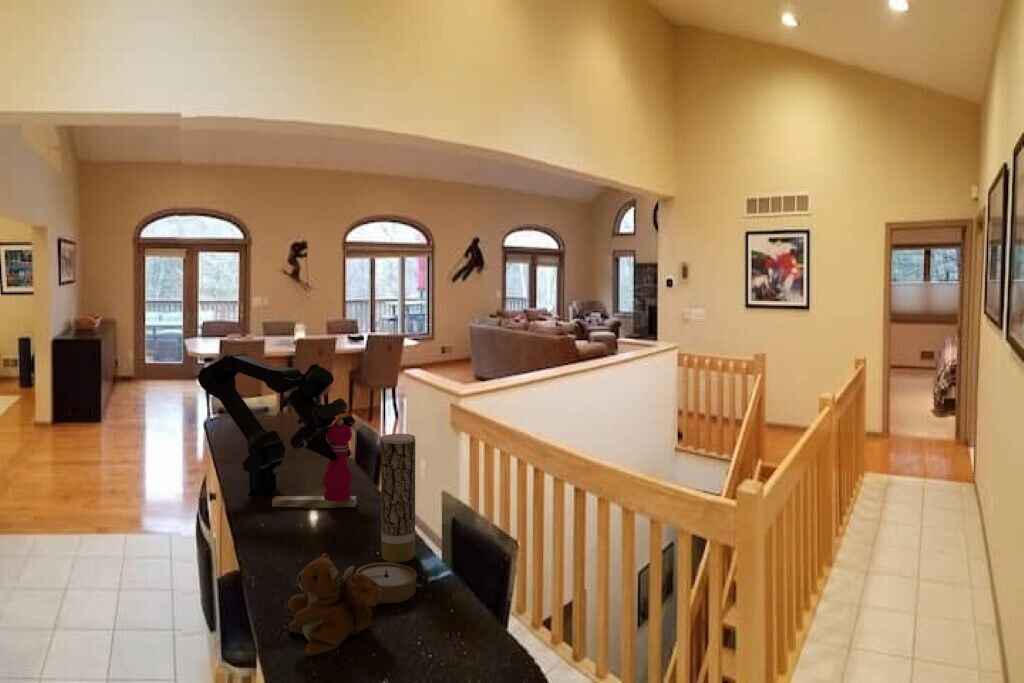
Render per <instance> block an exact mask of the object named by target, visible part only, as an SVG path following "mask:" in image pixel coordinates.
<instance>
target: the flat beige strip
mask: <svg viewBox="0 0 1024 683" xmlns="http://www.w3.org/2000/svg"><path fill="white" fill-rule="evenodd" d="M355 505H357V495H350V498H349V499H347V500H344V501H329V500H326V499H325V498H324V495H314V496H313V495H295V496H294V495H290V496H289V495H288V496H287V495H283V496H282V495H278V496H277V495H276V496H274V497H273V498H272V500H271V507H304V508H303V509H306V507H307V509H317V508H318V509H327V508H328V509H329V508H331V509H332V508H333V509H334V508H335V509H337V508H336V507H355V508H356V506H355ZM312 507H313V508H312Z"/></svg>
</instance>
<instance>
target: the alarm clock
mask: <svg viewBox="0 0 1024 683" xmlns="http://www.w3.org/2000/svg"><path fill="white" fill-rule="evenodd" d="M358 573H362V575H363V574H364V575H367V576H368V577H370V579H372V580H374V581H375V582H376V583H378V585H380V587H381V589H382V591H380V593H381V595H382V596H381V597H380V598H381V599H380V602H378V604H396V603H400V602H404V601H407V600H409V599H410V598H412V597H413V596H414V595H415V593H416V591H417V589H416V588H422V587H423V585H422V584H421V583H417V578H418V573H417V571H416V570H415V569H414V568H412V567H411V566H407V565H404V564H401V563H392V562H387V561H386V562H374V563H369V564H365V565H362V566H359V568H356V565H351V566H349V567H347V568H346V570H345V571H344V573H343V575H342V576H339V577H340V578H337V581H338V583H340V582H341V581H342V580H344V579H345V578H346V577H347V576H350V575H353V574H356V575H357V574H358Z"/></svg>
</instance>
